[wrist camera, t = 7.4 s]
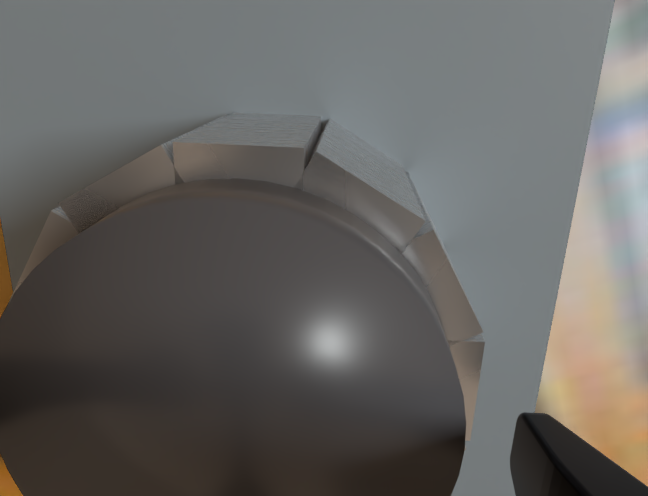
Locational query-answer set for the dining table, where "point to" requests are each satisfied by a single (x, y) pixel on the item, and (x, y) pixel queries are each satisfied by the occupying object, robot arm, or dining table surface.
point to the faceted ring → (305, 174)
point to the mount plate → (351, 113)
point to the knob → (228, 355)
